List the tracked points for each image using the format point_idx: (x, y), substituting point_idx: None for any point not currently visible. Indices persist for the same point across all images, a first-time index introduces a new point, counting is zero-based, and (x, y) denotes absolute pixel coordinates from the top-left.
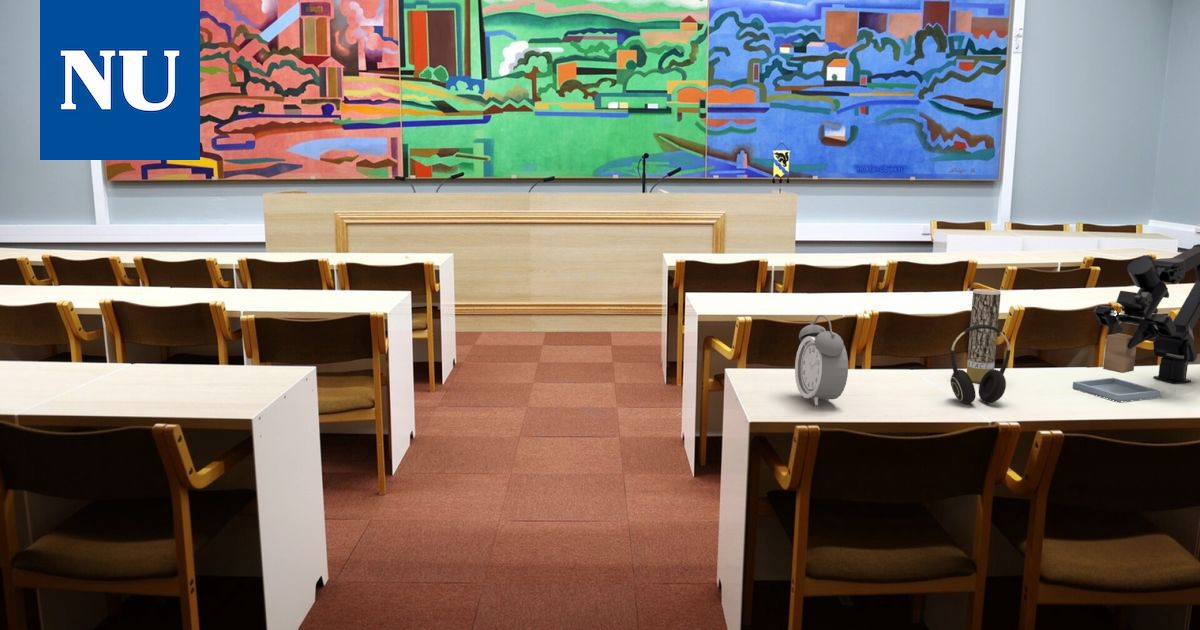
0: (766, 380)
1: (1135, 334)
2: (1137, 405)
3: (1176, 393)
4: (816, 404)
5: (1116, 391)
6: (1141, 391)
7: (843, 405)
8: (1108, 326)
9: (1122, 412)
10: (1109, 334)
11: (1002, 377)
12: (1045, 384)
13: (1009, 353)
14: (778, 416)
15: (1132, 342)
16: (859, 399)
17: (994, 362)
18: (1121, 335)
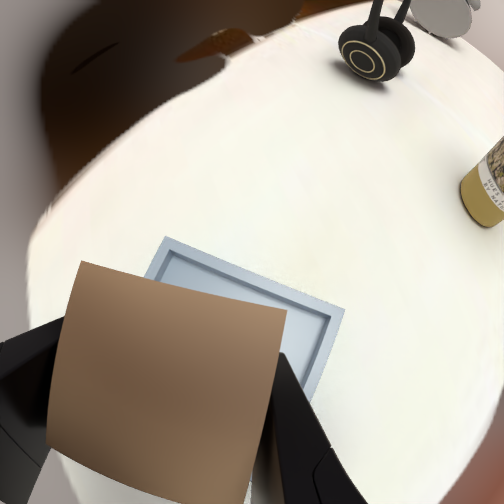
0: (498, 74)
1: (13, 356)
2: (123, 255)
3: (94, 479)
4: (415, 19)
5: None
6: None
7: (413, 28)
8: (359, 494)
9: (144, 161)
10: (290, 407)
11: (351, 27)
12: (405, 295)
13: (373, 1)
14: (400, 5)
15: (62, 319)
16: (428, 43)
17: (492, 181)
18: (160, 420)
